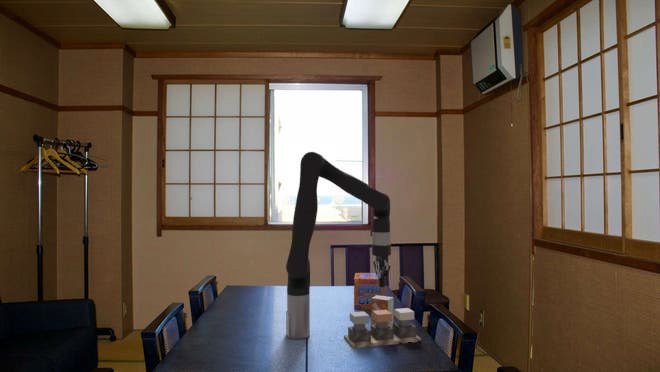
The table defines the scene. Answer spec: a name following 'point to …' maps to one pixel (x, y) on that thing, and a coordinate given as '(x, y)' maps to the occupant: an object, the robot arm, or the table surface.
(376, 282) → the game box
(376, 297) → the small box
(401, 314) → the plunger cream
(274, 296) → the table surface
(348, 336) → the button board
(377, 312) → the plunger terracotta
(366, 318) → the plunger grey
